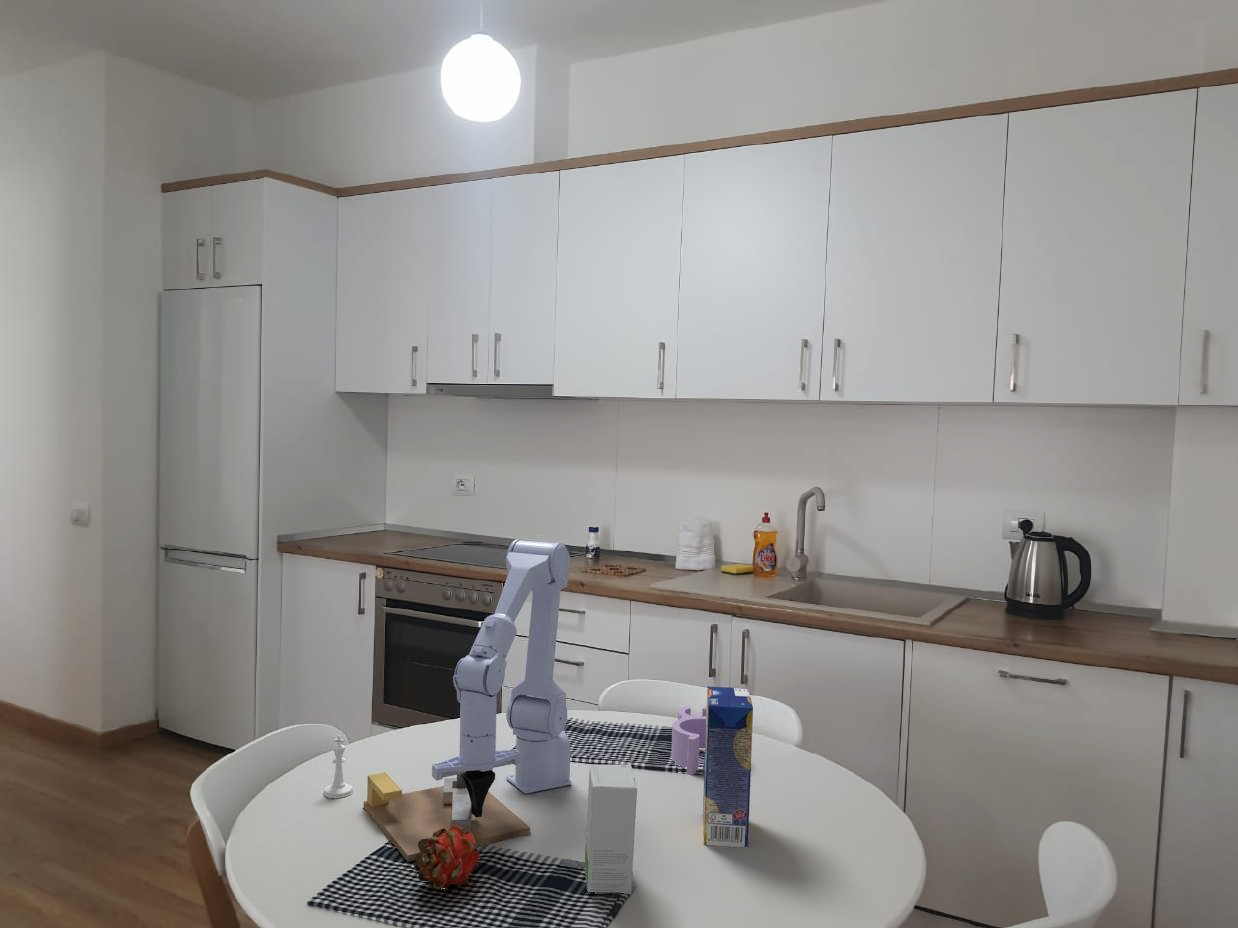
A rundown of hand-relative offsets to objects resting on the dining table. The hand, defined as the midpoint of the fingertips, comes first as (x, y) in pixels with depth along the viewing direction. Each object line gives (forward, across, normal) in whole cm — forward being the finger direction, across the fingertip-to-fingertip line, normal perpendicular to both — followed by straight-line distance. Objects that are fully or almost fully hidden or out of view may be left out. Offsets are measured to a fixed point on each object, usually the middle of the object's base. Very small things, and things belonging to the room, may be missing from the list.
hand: (476, 814), depth 148 cm
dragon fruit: (+2, -10, -14) cm, 18 cm away
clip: (+3, +52, +9) cm, 53 cm away
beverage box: (+2, +34, -20) cm, 40 cm away
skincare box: (+2, +10, -25) cm, 27 cm away
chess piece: (+2, -15, +24) cm, 29 cm away
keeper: (+1, -11, +11) cm, 16 cm away
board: (+2, -3, +5) cm, 6 cm away
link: (+1, -1, +5) cm, 5 cm away
